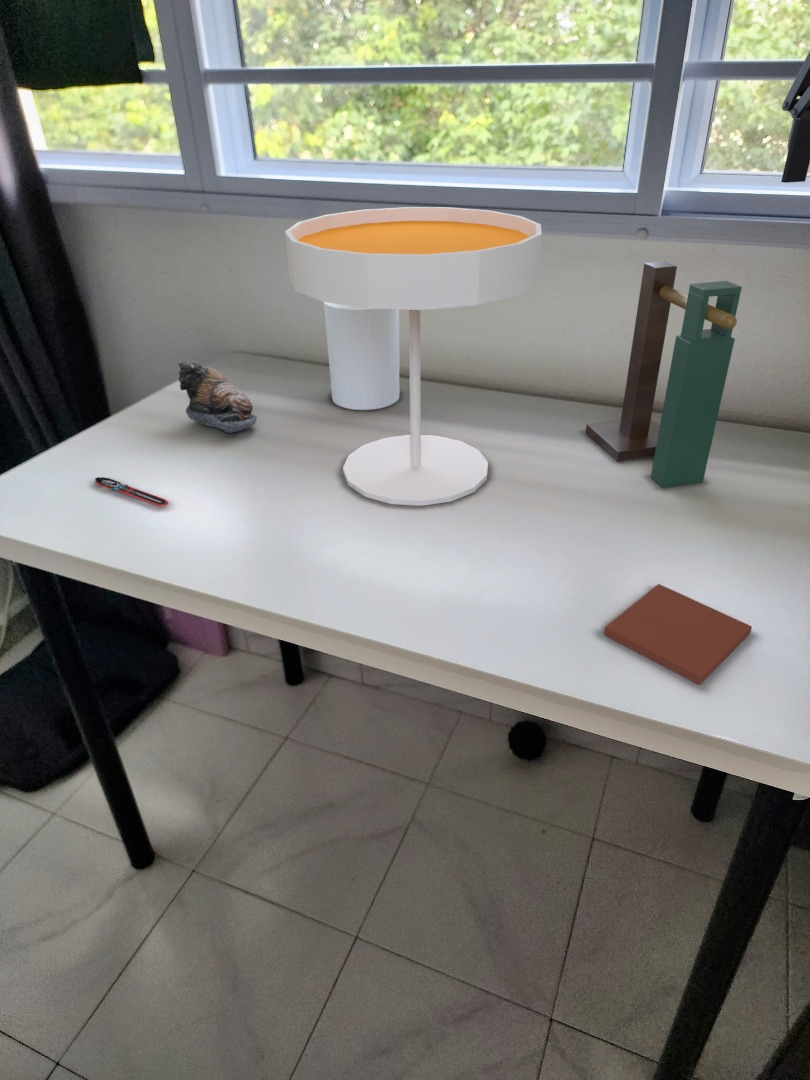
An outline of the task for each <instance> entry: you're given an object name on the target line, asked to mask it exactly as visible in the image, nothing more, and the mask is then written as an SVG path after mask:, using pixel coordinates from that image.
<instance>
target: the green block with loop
mask: <svg viewBox="0 0 810 1080" xmlns="http://www.w3.org/2000/svg"><path fill="white" fill-rule="evenodd" d="M742 289H743V287H742V286H740V285H738V284H736V283H732V282H731V281H728V280H721V281H720V280H719V281H707V282H697V283H690V284H689V288H688V294H687V295H688V298H687V304H686V309H684V314H683V321H682V325H681V332H680V335H679V334H678V335H676V336H675V340H674V346H673V350H672V357H671V361H670V362H671V363H670V368H669V374H668V379H667V385H666V389H665V396H664V401H663V407H662V411H661V418H660V424H659V426H660V428H659V434H658V439H657V445H656V451H655V456H653V462H652V468H651V473H650V478H651V480H653V481H654V483H656V484H657V485H659V486H660V488H662V489H663V488H671V487H677V486H684V485H691V484H698V483H703V482H704V479H705V474H706V470H707V466H708V462H709V461H708V460H709V457H710V453H711V448H712V444H713V438H714V436H715V435H714V434H715V429H716V425H717V420H718V417H719V411H720V408H721V403H722V400H723V395H724V389H725V385H726V380H727V377H728V372H729V367H730V364H731V363H730V362H731V358H732V353H733V349H734V344H735V341H736V339H735V337H732V334H733V329H734V328H732V329H724V328H722V327H720V326H718V325H716V324H714V323H712V322H711V326H710V328H707V329H704V325H705V320H706V319H705V316H706V311H707V305H708V304H709V301H710V300H709V299H710V298H711V297H717V298H716V302H715V306H714V307H715V308H718V309H720V310H722V311H724V312H726V313H729V314H731V315H733V316H735V317H736V315H737V313H738V307H739V303H740V297H741V293H742Z"/></svg>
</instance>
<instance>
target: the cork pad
mask: <svg viewBox="0 0 810 1080" xmlns="http://www.w3.org/2000/svg"><path fill="white" fill-rule="evenodd" d="M752 629H753V626H752V625H750V624H748V623H745V622H743V621H741V620H739V619H737V618H735V617H732V616H730V615H728V614H725V613H723V612H721V611H719V610H717V609H715V608H713V607H710V606H708V605H706V604H704V603H702V602H699V601H697V600H695V599H693V598H691V597H688V596H686V595H684V594H682V593H679V592H677V591H676V590H673V589H671V588H669V587H666V586H665V585H662V584H660V583H658V584H657V585H655V586H654V587H653V588H651V589H650V590H649V591H648V592H647V593H645V594H644V595H643V596H642V597H640V598H639V599H638V600H637V601H635V602H634V603H633V604H632V605H630V606H629V607H628V608H626V609H625V610H624V611H623V612H621V614H618V615H617V617H616V618H614V619H613V620H612V621H611V622H609V623H608V624H606V626H605V627H604V632H603V635H604V636H605V637H607V638H609V639H611V640H613V641H614V642H617V643H619V644H621V645H622V646H624V647H626V648H628V649H630V650H632V651H634V652H636V653H637V654H640V655H641V656H643V657H645V658H647V659H649V660H651V661H652V662H654V663H656V664H658V665H660V666H662V667H664V668H666V669H668V670H670V671H672V672H673V673H675V674H677V675H679V676H681V677H683V678H685V679H687V680H688V681H690V682H693V684H696V685H698V686H700V685H702V684H703V683H704V681H706V679H708V678H709V677H710V675H711V674H713V672H715V670H716V669H717V668H719V666H720V665H721V664H722V663H724V662H725V660H727V658H728V657H729V656H730V655H731V654H732V653H734V651H735V650H736V649H737V648H738V647H739V646H740V645H741V644H742V643H743V642H744V641H745V640H746V639H747V638H748V637H749V636H750V634H751V632H752Z"/></svg>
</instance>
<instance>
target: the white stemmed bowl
mask: <svg viewBox="0 0 810 1080" xmlns="http://www.w3.org/2000/svg"><path fill="white" fill-rule="evenodd" d="M542 234H543V232H542V223H539V222H536V221H534V220H532V219H529V218H527V217H524V216H522V215H517V214H511V213H506V212H500V211H495V210H487V209H475V208H474V209H473V208H461V207H449V206H448V207H442V206H440V207H437V206H436V207H435V206H433V207H432V206H431V207H430V206H429V207H426V206H420V207H419V206H402V207H401V206H400V207H386V208H368V209H359V210H351V211H343V212H336V213H329V214H324V215H323V214H322V215H320V216H316V217H312V218H308V219H305V220H301V221H297V222H296V223H294V225H292V226H291V227H289V228H288V229H286V230H285V231H284V237H285V247H286V256H287V268H288V278H289V281H290V283H291V285H292V286H293V288H294V291H295V292H297V293H300V294H302V295H304V296H307V297H309V298H311V299H315V300H317V301H321V302H322V303H324V302H328V303H335V304H341V305H348V306H355V307H361V308H368V309H399V310H407V311H408V354H409V355H408V358H409V359H408V360H409V362H408V363H409V365H408V366H409V434H404V435H395V436H389V437H387V436H386V437H384V438H380V439H377V440H374V441H371V442H368V443H365V444H363V445H361V446H360V447H358V448H357V449H355V450H354V451H352V452H351V453H350V454H348V455H347V458H346V460H345V462H344V464H343V467H342V474H343V476H344V478H345V480H346V483H347V485H348V487H350V488H351V489H352V490H354V491H356V492H357V493H359V494H360V495H362V496H363V497H365V498H368V499H371V500H375V501H379V502H382V503H386V504H389V505H399V506H400V505H403V506H416V507H417V506H419V507H422V506H429V505H436V504H443V503H450V502H454V501H457V500H458V499H461V498H463V497H465V496H468V495H470V494H473V493H475V492H476V491H477V490H478V489H479V488H480V487H481V486H482V485H484V483H485V482H486V481H488V480H487V479H488V471H489V470H488V468H489V461H488V460H487V458H486V457H485V456H484V455H483V453H482V452H481V451H480V450H479V449H477V448H476V447H473V446H472V445H469V444H468V443H465V442H464V441H461V440H458V439H454V438H450V437H445V436H442V435H441V436H440V435H433V434H429V435H428V434H422V419H421V418H422V411H421V410H422V409H421V407H422V405H421V404H422V403H421V401H422V399H421V397H422V395H421V393H422V392H421V391H422V390H421V384H422V383H421V381H422V380H421V377H422V376H421V375H422V373H421V370H422V369H421V311H427V310H441V309H451V308H461V307H473V306H481V305H484V304H489V303H493V302H497V301H501V300H505V299H509V298H514V297H518V296H520V295H521V294H523V293H525V292H527V291H528V290H530V289H531V288H533V287H535V286H537V285H538V284H539V273H540V260H541V250H542V249H541V247H542Z"/></svg>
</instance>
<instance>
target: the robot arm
mask: <svg viewBox="0 0 810 1080" xmlns="http://www.w3.org/2000/svg"><path fill="white" fill-rule="evenodd" d="M798 97H799V98H798ZM781 109H782V111H783V112H788V113H789V114H790V115H791V119H792V122H791V123H792V124H791V128H790V133H789V136H788V141H787V150H788V151H787V155H786V159H785V164H784V168H783V172H782V177H781V183H786V184H787V183H788V184H789V183H803V182H806V179H807V176H808V172H809V166H810V50H809V51H808V53H807V55H806V57H805V59H804V61H803V63H802V65H801V67H800V69H799V70H798V72H797V74H796V76H795V78H794V80H793V82H792V85H791V86H790V89H789V90H788V92H787V94H786V96H785V97H784V100H783V102H782V104H781Z"/></svg>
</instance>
